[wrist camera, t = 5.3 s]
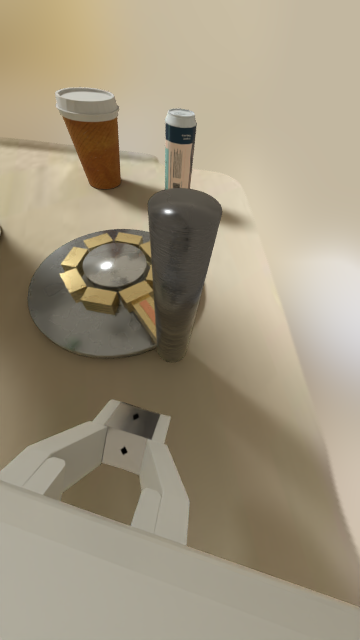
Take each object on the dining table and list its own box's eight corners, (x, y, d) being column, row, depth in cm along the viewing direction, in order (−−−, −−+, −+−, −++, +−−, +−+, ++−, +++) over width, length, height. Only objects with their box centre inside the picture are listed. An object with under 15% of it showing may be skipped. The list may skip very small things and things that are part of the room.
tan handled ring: (54, 263, 25) (-46, 98, 13) (137, 235, 29) (119, 92, 17) (126, 395, 17) (38, 289, 5) (224, 330, 21) (302, 190, 9)
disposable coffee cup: (82, 195, 37) (51, 101, 26) (79, 173, 41) (52, 85, 31) (132, 191, 39) (122, 103, 29) (124, 170, 43) (112, 88, 33)
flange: (47, 395, 18) (23, 385, 15) (23, 254, 27) (6, 231, 24) (229, 315, 24) (239, 297, 21) (160, 223, 34) (160, 202, 30)
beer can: (193, 201, 38) (204, 115, 28) (174, 208, 37) (179, 118, 26) (178, 191, 40) (183, 106, 30) (159, 197, 38) (158, 109, 28)
